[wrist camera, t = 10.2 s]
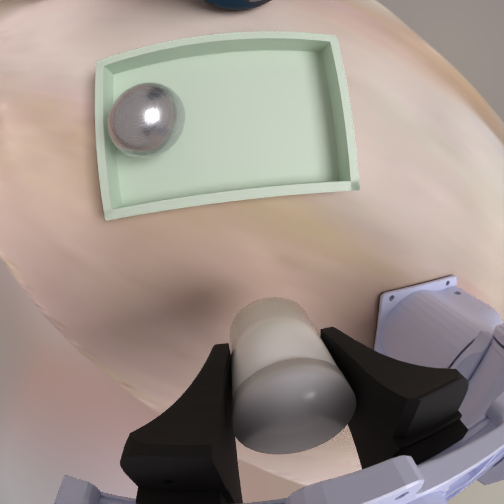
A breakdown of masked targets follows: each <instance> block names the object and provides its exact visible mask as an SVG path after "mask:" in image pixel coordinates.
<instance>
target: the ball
mask: <svg viewBox="0 0 504 504" xmlns="http://www.w3.org/2000/svg"><path fill="white" fill-rule="evenodd" d="M184 124H185V109H184V106H183V103H182V101H181V99H180V97H179V96H178V95H177V94H176V93H175V92H174V91H173V90H172V89H171V88H169V87H167V86H165V85H162V84H159V83H153V82H148V83H141V84H138V85H135V86H132V87H130V88H129V89H127V90H126V91H124V92H123V93H122V94H121V95H120V96H119V97H118V98H117V99H116V100H115V102H114V103H113V105H112V107H111V109H110V112H109V116H108V132H109V135H110V138H111V140H112V142H113V144H114V145H115V146H116V147H117V148H118V149H119V150H120V151H121V152H122V153H124V154H126V155H128V156H131V157H134V158H141V159H145V158H152V157H155V156H158V155H160V154H162V153H164V152H166V151H167V150H169V149H170V148H171V147H172V146H173V145H174V144H175V143H176V142H177V140H178V139H179V137H180V136H181V134H182V131H183V128H184Z"/></svg>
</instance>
